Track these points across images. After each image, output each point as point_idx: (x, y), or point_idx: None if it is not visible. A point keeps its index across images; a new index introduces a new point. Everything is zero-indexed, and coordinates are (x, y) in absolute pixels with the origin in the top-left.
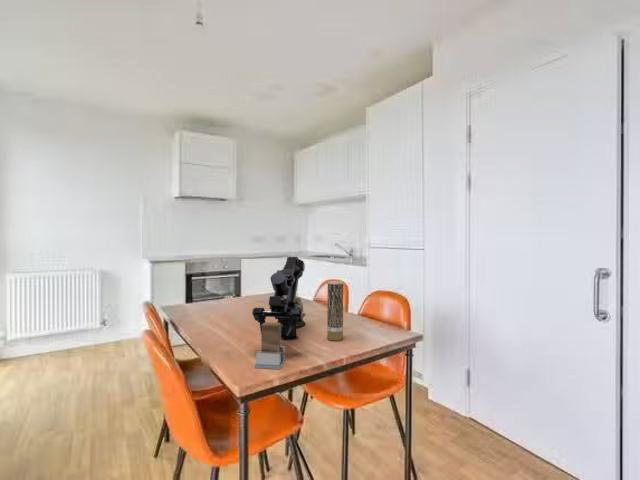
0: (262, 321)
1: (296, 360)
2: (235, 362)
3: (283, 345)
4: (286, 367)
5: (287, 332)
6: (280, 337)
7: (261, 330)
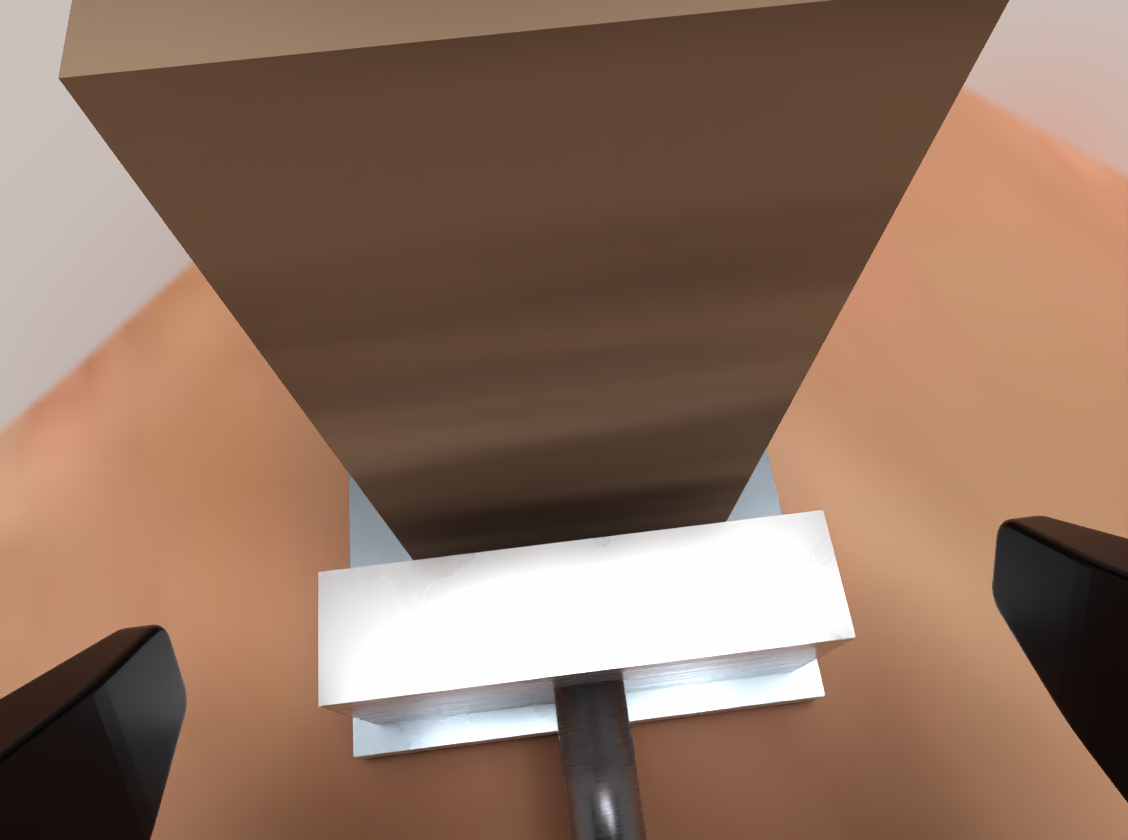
0: None
1: None
2: (1094, 391)
3: (353, 699)
4: (285, 404)
5: (62, 665)
6: (311, 417)
7: (1119, 549)
